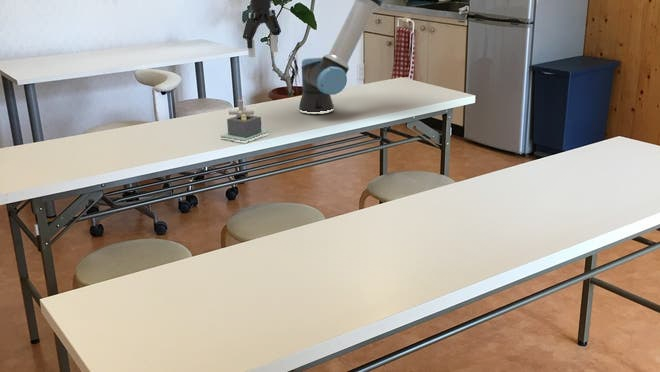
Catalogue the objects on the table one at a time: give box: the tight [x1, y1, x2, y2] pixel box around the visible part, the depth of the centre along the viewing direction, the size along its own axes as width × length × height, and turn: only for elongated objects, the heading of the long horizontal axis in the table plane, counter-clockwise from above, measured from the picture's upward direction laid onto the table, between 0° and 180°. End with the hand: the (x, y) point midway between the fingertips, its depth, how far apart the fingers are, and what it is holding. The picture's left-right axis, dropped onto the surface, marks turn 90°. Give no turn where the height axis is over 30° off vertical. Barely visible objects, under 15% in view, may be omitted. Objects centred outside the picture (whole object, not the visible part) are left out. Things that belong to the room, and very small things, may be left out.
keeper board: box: [220, 114, 269, 141], centre depth 268 cm, size 14×12×9 cm
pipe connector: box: [228, 99, 255, 116], centre depth 287 cm, size 10×10×10 cm
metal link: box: [226, 114, 263, 138], centre depth 268 cm, size 9×9×6 cm
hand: (263, 54), depth 276 cm, fingers open, 13 cm apart
